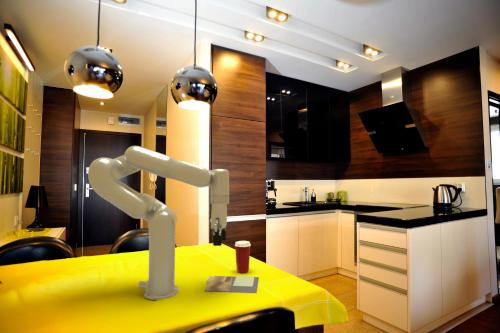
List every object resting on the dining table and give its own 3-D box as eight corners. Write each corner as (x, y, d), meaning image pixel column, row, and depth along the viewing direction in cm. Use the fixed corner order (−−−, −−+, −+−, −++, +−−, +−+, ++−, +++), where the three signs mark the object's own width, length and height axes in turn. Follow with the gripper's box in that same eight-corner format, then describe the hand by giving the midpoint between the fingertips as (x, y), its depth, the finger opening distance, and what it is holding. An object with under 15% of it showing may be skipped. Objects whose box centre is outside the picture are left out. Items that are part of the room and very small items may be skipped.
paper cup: (254, 272, 128) (254, 242, 129) (242, 276, 122) (242, 244, 123) (242, 268, 133) (242, 239, 134) (230, 272, 128) (231, 242, 129)
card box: (206, 290, 105) (206, 281, 105) (209, 285, 111) (209, 275, 111) (229, 291, 104) (229, 281, 105) (231, 285, 110) (231, 276, 110)
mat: (204, 292, 104) (204, 291, 104) (214, 276, 122) (214, 275, 122) (256, 294, 102) (256, 292, 102) (258, 277, 120) (258, 276, 120)
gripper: (215, 198, 119) (215, 238, 118) (205, 201, 102) (205, 247, 101) (232, 198, 118) (232, 238, 117) (225, 201, 101) (225, 248, 100)
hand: (219, 242), depth 109 cm, fingers open, 9 cm apart
